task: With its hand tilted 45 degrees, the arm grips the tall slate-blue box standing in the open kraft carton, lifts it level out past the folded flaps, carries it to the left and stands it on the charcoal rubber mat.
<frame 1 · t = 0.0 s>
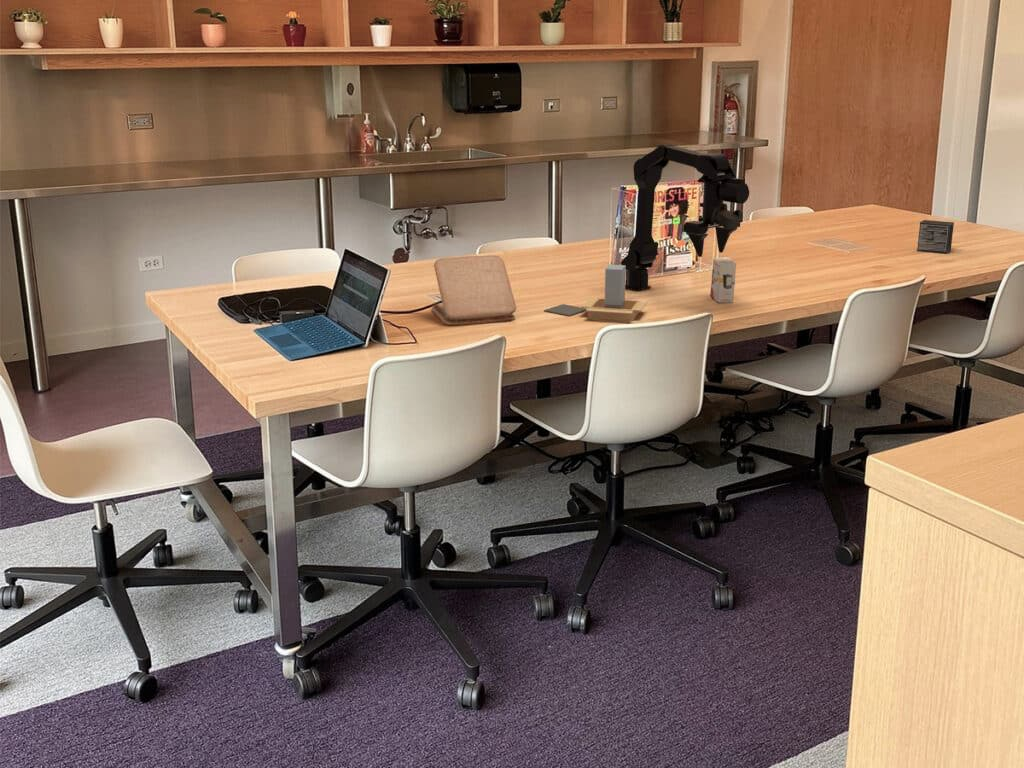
hand: (710, 254, 318), 15 cm above the table, tool pointing down, fingers open, 9 cm apart
case: (472, 316, 313), on the table
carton: (614, 314, 313), on the table
mat: (566, 310, 317), on the table
slate box: (615, 290, 311), in the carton
small box: (933, 251, 395), on the table
ink box: (722, 300, 329), on the table
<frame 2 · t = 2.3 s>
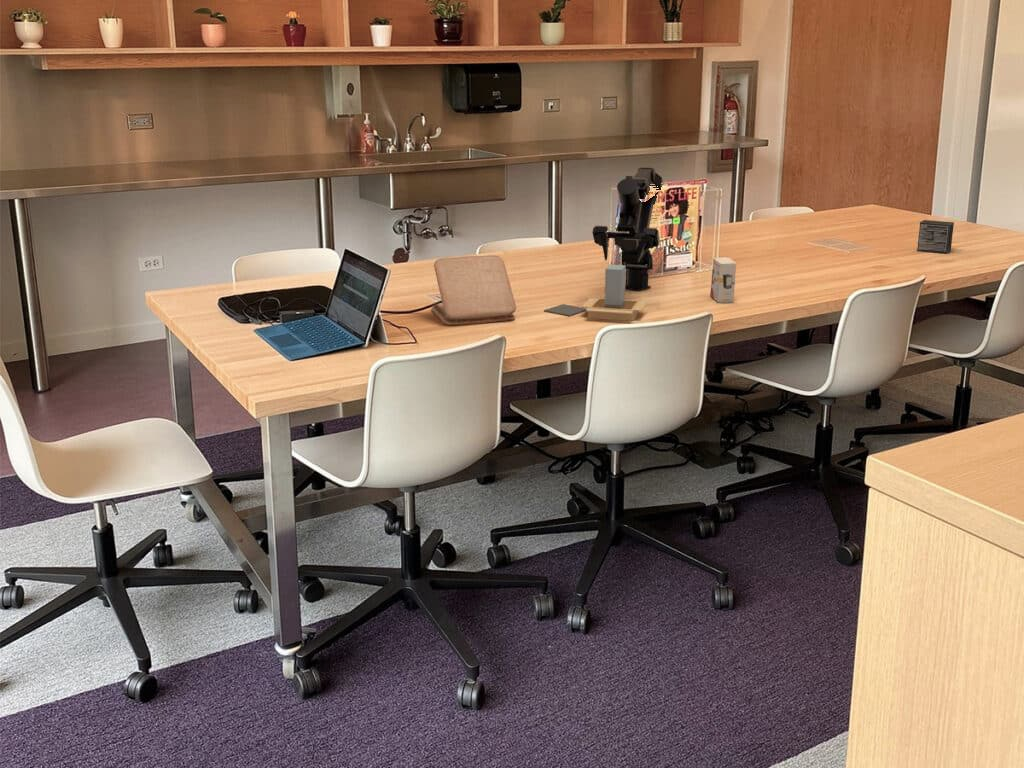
hand: (621, 260, 317), 14 cm above the table, tool tilted 45°, fingers open, 9 cm apart
nothing on the table moved.
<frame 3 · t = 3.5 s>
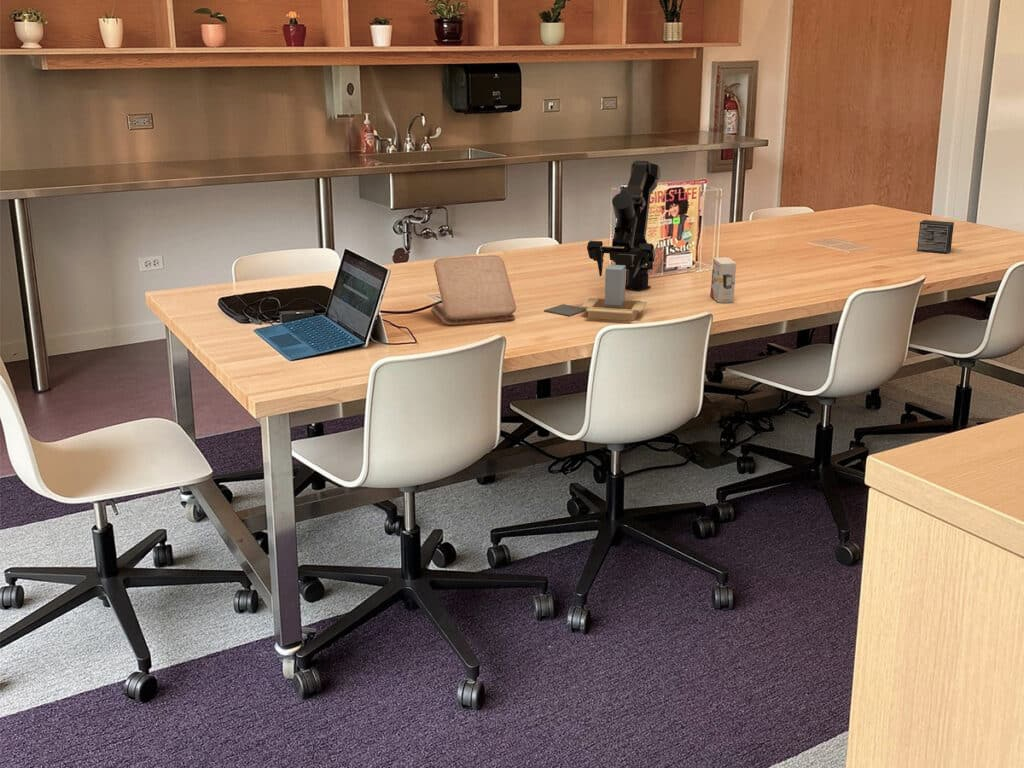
hand: (616, 276, 311), 10 cm above the table, tool tilted 45°, fingers open, 9 cm apart
nothing on the table moved.
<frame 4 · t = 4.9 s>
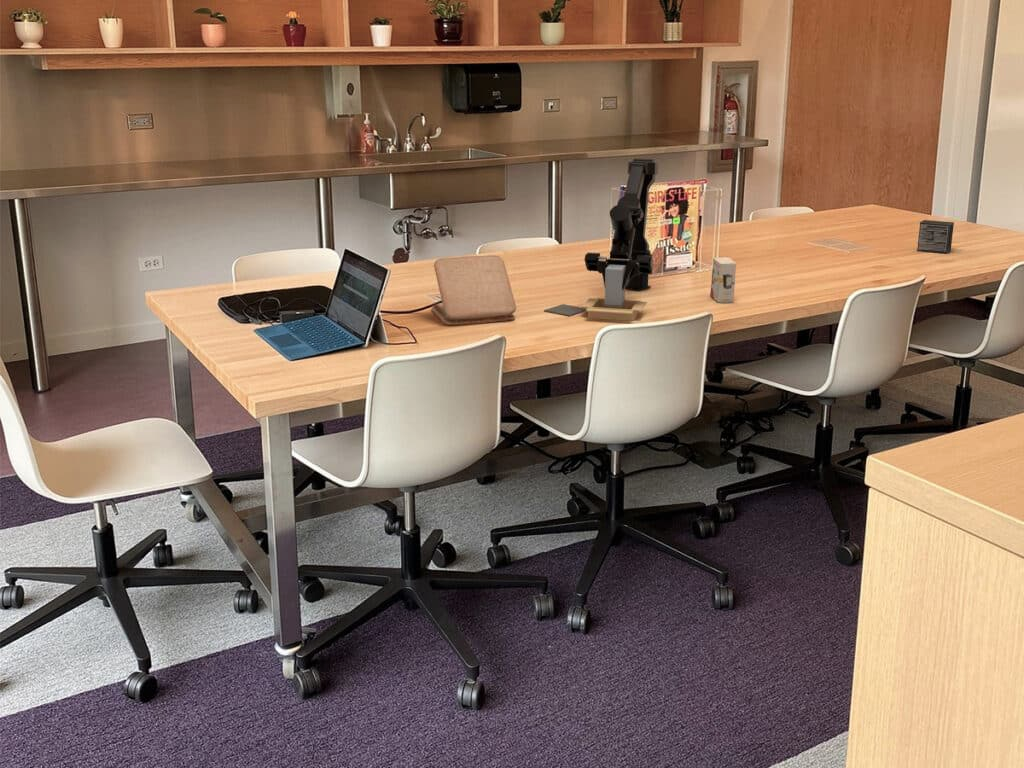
hand: (614, 288, 310), 8 cm above the table, tool tilted 45°, fingers closed on slate box, 4 cm apart
slate box: (615, 290, 311), in the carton, touching gripper
everything else where it was.
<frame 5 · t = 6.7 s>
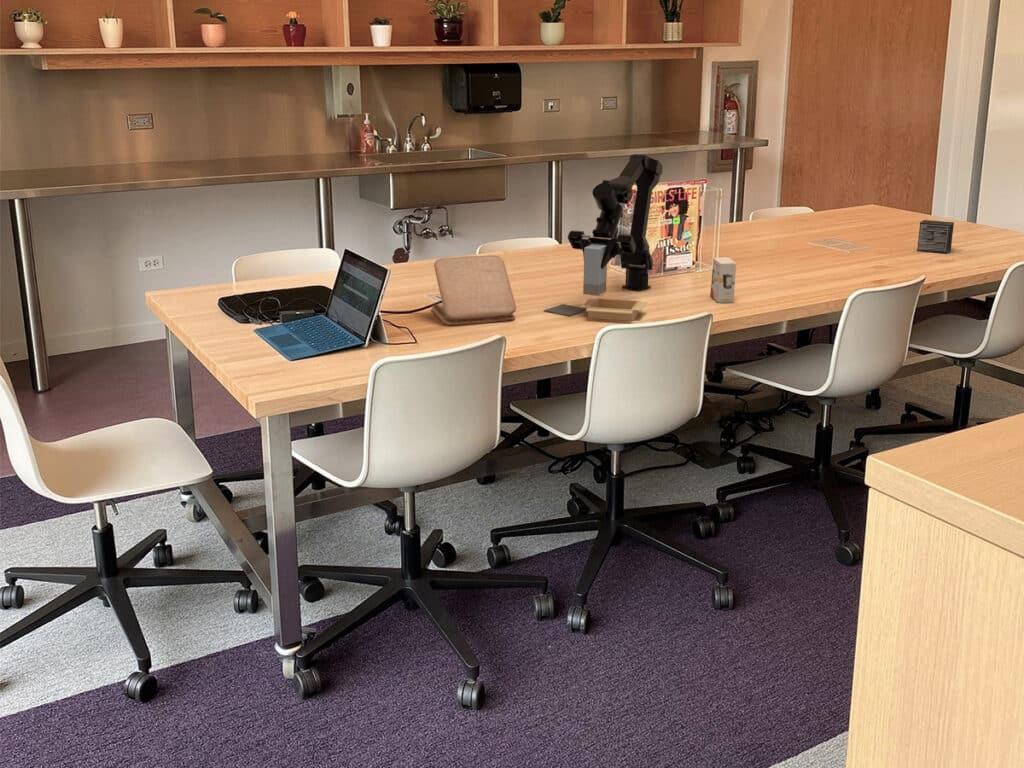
hand: (593, 267, 309), 13 cm above the table, tool tilted 45°, fingers closed on slate box, 4 cm apart
slate box: (595, 269, 310), point 12 cm above the table, touching gripper
everything else where it was.
when the fingers open (9 cm above the table, at t = 8.5 s): slate box stays where it is, resting on mat.
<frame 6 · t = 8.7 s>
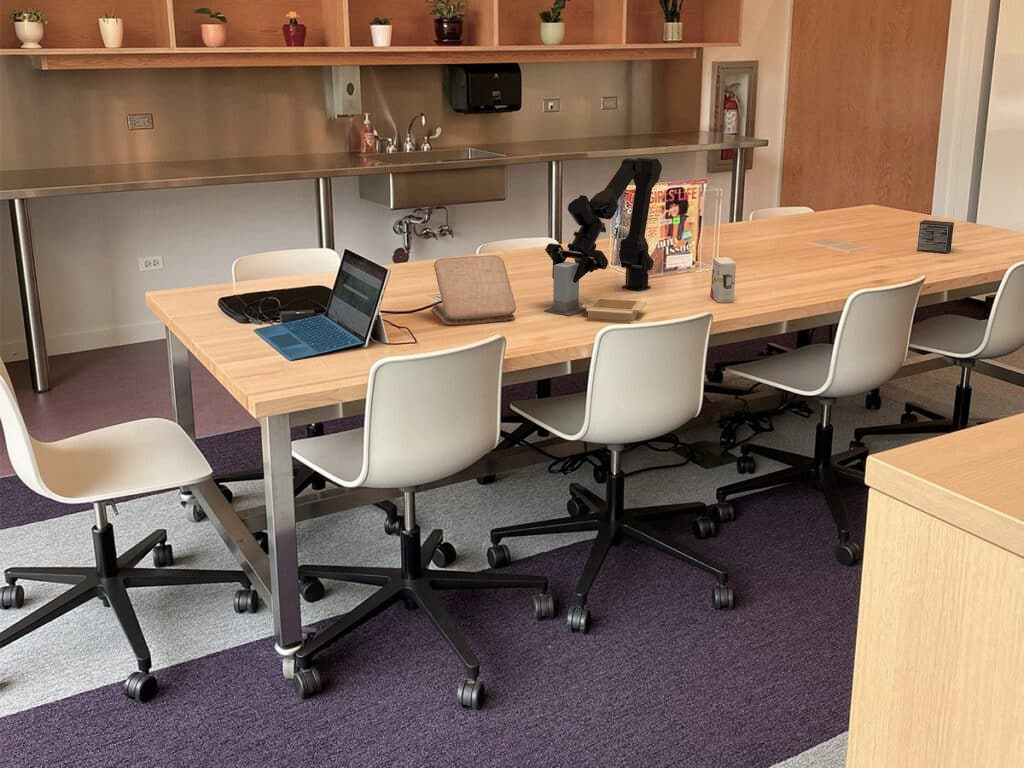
hand: (563, 280, 313), 9 cm above the table, tool tilted 45°, fingers open, 7 cm apart
slate box: (566, 287, 315), on the mat
everything else where it was.
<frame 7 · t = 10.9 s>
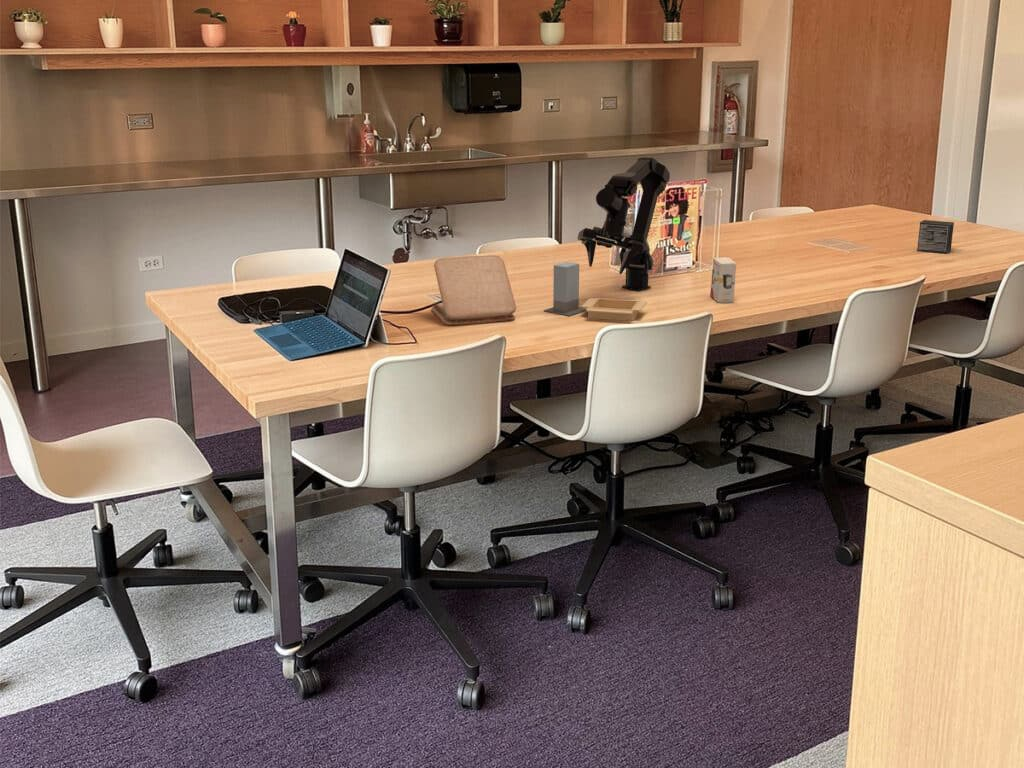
hand: (605, 270, 321), 10 cm above the table, tool tilted 25°, fingers open, 9 cm apart
nothing on the table moved.
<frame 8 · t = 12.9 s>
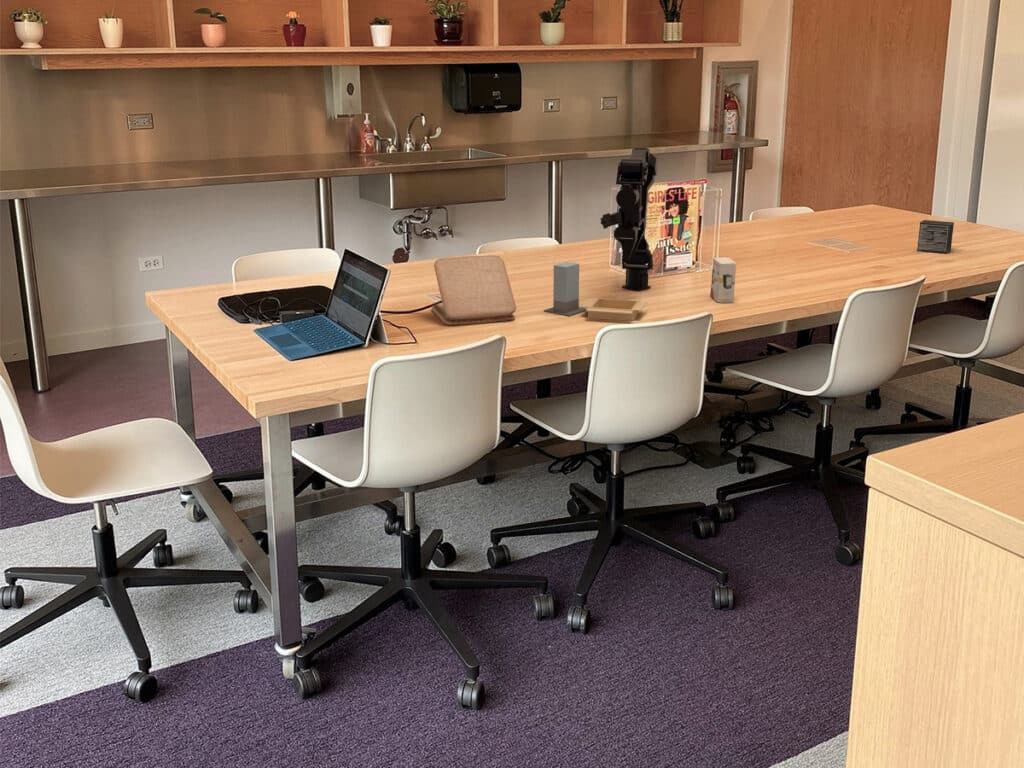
hand: (629, 257, 324), 13 cm above the table, tool pointing down, fingers open, 9 cm apart
nothing on the table moved.
at the end: slate box inside the target area on the mat (0.1 cm from its centre), point 6.9 cm above the mat's base; slate box tilted 0°; the gripper is holding nothing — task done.
